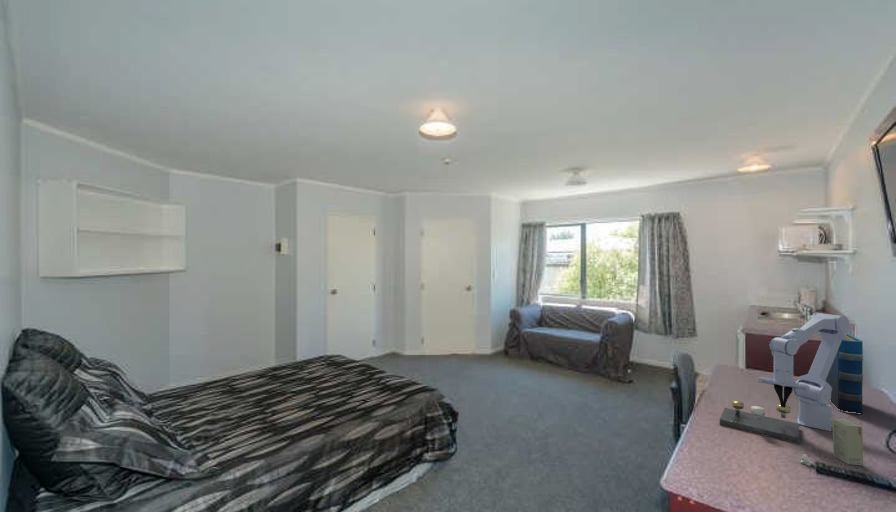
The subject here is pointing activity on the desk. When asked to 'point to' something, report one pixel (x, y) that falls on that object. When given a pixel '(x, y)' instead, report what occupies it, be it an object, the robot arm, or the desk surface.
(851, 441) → the skincare box
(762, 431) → the plate
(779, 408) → the inner brass knob
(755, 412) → the middle white knob
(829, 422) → the robot arm
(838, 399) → the book
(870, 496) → the desk surface
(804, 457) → the adhesive hook
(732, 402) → the outer brass knob
